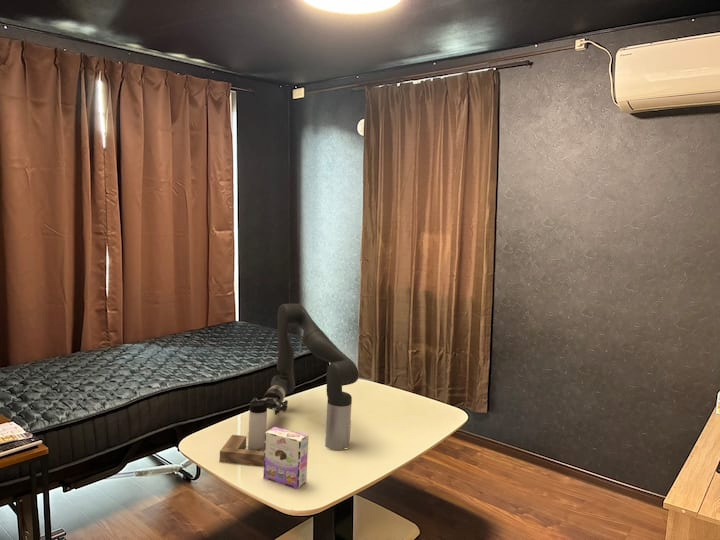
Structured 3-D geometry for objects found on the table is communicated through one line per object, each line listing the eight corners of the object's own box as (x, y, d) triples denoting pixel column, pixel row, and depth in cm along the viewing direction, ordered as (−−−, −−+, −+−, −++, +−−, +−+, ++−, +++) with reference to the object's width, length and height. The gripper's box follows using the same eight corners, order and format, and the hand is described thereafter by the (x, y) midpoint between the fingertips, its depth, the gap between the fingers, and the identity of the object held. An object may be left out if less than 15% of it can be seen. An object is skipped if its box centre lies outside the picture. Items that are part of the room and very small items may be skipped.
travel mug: (262, 459, 195) (264, 405, 193) (244, 456, 196) (247, 403, 194) (268, 451, 201) (270, 399, 199) (251, 449, 202) (254, 397, 200)
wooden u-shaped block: (289, 450, 203) (289, 440, 203) (281, 468, 189) (281, 457, 189) (231, 444, 205) (232, 434, 204) (219, 462, 191) (219, 451, 190)
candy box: (307, 482, 181) (309, 434, 179) (297, 489, 176) (300, 441, 174) (272, 471, 187) (274, 425, 185) (262, 478, 181) (264, 431, 179)
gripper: (257, 386, 223) (246, 400, 207) (292, 389, 222) (283, 403, 206) (256, 404, 224) (245, 419, 208) (291, 407, 223) (282, 422, 207)
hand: (264, 411), depth 207 cm, fingers open, 8 cm apart
